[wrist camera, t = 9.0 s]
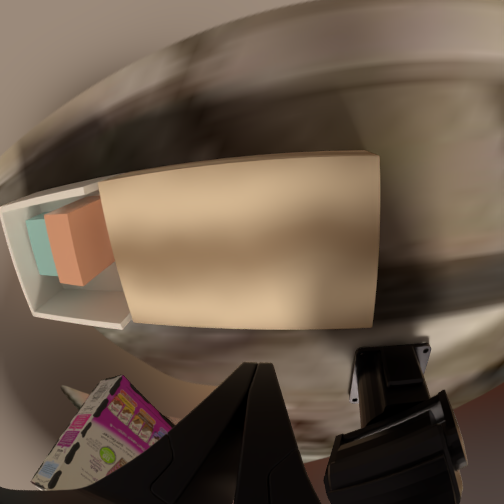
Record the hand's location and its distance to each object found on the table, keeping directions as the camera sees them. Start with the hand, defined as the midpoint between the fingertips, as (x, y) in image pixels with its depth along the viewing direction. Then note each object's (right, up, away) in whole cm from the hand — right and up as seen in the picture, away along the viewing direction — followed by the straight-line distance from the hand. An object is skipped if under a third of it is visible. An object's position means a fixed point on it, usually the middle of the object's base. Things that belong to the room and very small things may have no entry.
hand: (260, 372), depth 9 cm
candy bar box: (-13, -15, +23) cm, 31 cm away
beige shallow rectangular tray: (-1, +5, +12) cm, 13 cm away
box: (-14, +4, +15) cm, 21 cm away
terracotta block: (-11, +4, +11) cm, 16 cm away
